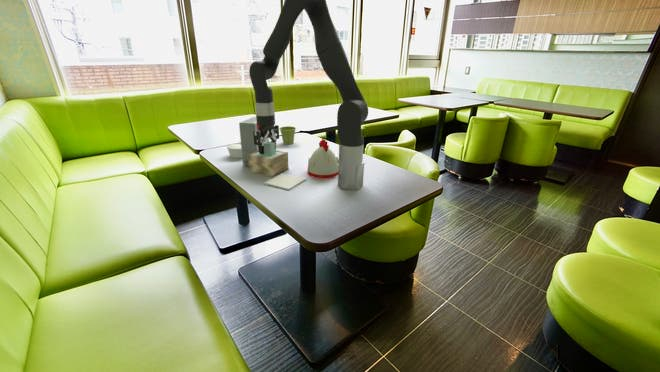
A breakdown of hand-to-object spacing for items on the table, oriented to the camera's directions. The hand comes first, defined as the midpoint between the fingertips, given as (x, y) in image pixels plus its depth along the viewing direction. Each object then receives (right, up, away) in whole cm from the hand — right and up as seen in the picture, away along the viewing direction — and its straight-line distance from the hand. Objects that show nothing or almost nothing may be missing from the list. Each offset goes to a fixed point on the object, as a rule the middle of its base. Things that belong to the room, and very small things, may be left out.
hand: (268, 151), depth 129 cm
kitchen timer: (+24, -9, +2) cm, 26 cm away
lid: (0, -2, +1) cm, 2 cm away
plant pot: (+3, +10, +45) cm, 46 cm away
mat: (+9, -13, -8) cm, 18 cm away
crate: (0, -8, +4) cm, 9 cm away
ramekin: (-19, 0, +22) cm, 29 cm away
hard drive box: (-8, -3, +15) cm, 17 cm away
